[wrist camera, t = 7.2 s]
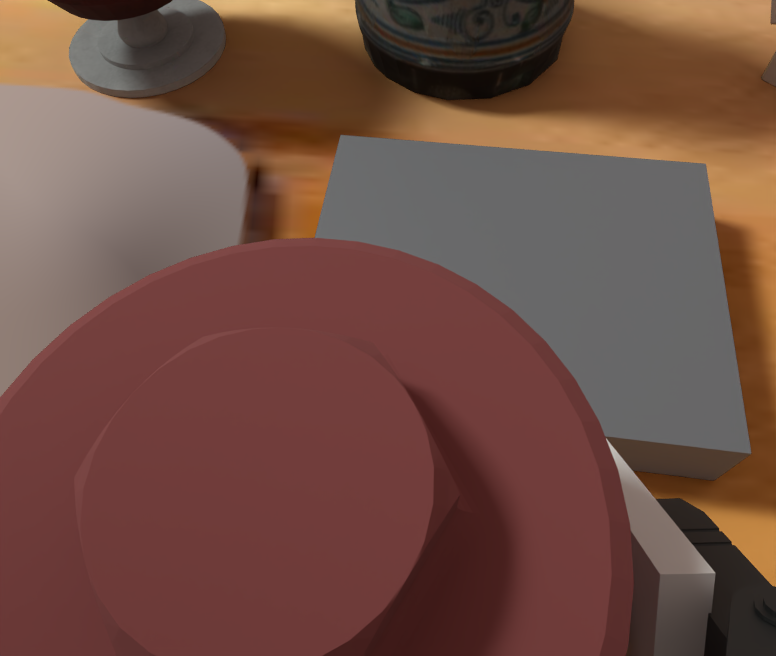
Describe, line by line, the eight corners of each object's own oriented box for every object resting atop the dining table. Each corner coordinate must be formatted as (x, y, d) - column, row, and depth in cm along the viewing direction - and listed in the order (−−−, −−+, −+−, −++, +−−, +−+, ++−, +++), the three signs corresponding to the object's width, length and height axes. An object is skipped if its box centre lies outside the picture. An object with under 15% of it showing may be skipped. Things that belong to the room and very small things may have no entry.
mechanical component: (119, 841, 15) (206, 439, 20) (550, 874, 14) (524, 452, 19) (-589, 1166, 4) (-19, 135, 9) (952, 1331, 4) (663, 148, 9)
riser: (288, 427, 34) (274, 396, 30) (345, 180, 43) (340, 135, 39) (714, 480, 32) (751, 453, 28) (680, 209, 41) (705, 163, 37)
